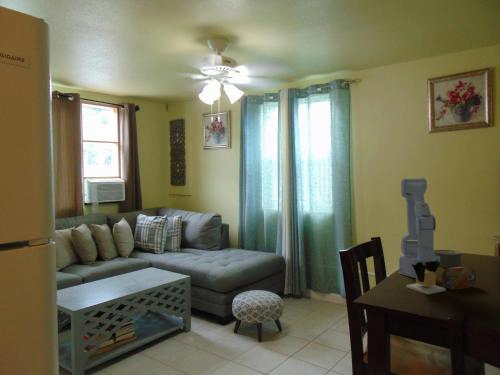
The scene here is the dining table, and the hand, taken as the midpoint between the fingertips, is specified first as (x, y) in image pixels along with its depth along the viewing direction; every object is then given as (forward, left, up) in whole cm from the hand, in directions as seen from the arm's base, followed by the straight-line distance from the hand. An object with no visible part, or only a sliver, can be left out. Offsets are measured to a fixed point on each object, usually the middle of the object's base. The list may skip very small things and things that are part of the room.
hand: (425, 280), depth 145 cm
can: (-22, +43, -4) cm, 48 cm away
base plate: (0, 0, -3) cm, 3 cm away
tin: (+5, +13, -4) cm, 14 cm away
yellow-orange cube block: (0, 0, -1) cm, 1 cm away
